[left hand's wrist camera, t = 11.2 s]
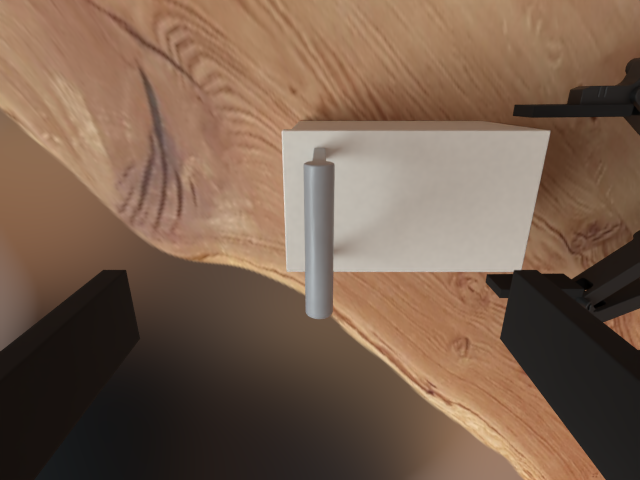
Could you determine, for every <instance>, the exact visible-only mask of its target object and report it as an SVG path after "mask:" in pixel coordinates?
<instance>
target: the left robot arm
mask: <svg viewBox="0 0 640 480" xmlns="http://www.w3.org/2000/svg"><path fill="white" fill-rule="evenodd" d="M139 339H140V337H139V332H138V327H137V322H136V317H135V312H134V307H133V302H132V297H131V292H130V288H129V283H128V278H127V273H126V270H103V271H101V272H100V273H99V274H98V275H96V276H95V277H94V278H93V279H91V280H90V281H89V282H88V283H86V284H85V285H84V286H83V287H81V288H80V289H79V290H77V291H76V292H75V293H74V294H72V295H71V296H70V297H69V298H67V299H66V300H65V301H64V302H62V303H61V304H60V305H59V306H57V307H56V308H55V309H54V310H52V311H51V312H50V313H48V314H47V315H46V316H45V317H43V318H42V319H41V320H40V321H38V322H37V323H36V324H35V325H33V326H32V327H31V328H30V329H28V330H27V331H26V332H25V333H23V334H22V335H21V336H19V337H18V338H17V339H16V340H14V341H13V342H12V343H11V344H9V345H8V346H7V347H6V348H4V349H3V350H2V351H0V480H34V479H35V478H36V477H37V475H38V474H39V473H40V471H41V470H42V469H43V467H44V466H45V465H46V463H47V462H48V461H49V459H50V458H51V457H52V455H53V454H54V453H55V451H56V450H57V449H58V447H59V446H60V445H61V443H62V442H63V441H64V439H65V438H66V437H67V435H68V434H69V433H70V431H71V430H72V429H73V427H74V426H75V424H76V423H77V422H78V421H79V419H80V418H81V417H82V415H83V414H84V412H85V411H86V410H87V408H88V407H89V406H90V405H91V403H92V402H93V401H94V399H95V398H96V396H97V395H98V394H99V392H100V391H101V390H102V389H103V387H104V386H105V384H106V383H107V382H108V380H109V379H110V378H111V377H112V375H113V374H114V372H115V371H116V370H117V368H118V367H119V366H120V364H121V363H122V362H123V360H124V359H125V358H126V356H127V355H128V354H129V352H130V351H131V350H132V348H133V347H134V346H135V344H136V343H137V342H138V340H139ZM500 339H501V340H502V342H503V343H504V344H505V346H506V347H507V348H508V350H509V351H510V352H511V354H512V355H513V356H514V358H515V359H516V360H517V362H518V363H519V365H520V366H521V367H522V369H523V370H524V371H525V373H526V374H527V375H528V377H529V378H530V379H531V381H532V382H533V383H534V385H535V386H536V387H537V389H538V390H539V391H540V393H541V394H542V395H543V397H544V398H545V399H546V401H547V402H548V403H549V405H550V406H551V407H552V409H553V410H554V411H555V413H556V414H557V415H558V417H559V418H560V419H561V421H562V422H563V423H564V425H565V426H566V427H567V429H568V430H569V431H570V433H571V434H572V435H573V437H574V438H575V439H576V441H577V442H578V443H579V445H580V446H581V447H582V449H583V450H584V451H585V453H586V454H587V455H588V457H589V458H590V459H591V461H592V462H593V463H594V465H595V466H596V467H597V469H598V470H599V471H600V473H601V474H602V475H603V477H604V478H605V479H606V480H640V350H637V349H636V348H634V347H633V346H632V345H631V344H629V343H628V342H627V341H626V340H624V339H623V338H622V337H621V336H619V335H618V334H617V333H615V332H614V331H613V330H612V329H610V328H609V327H608V326H607V325H605V324H604V323H603V322H602V321H600V320H599V319H598V318H597V317H595V316H594V315H593V314H592V313H590V312H589V311H588V310H586V309H585V308H584V307H583V306H581V305H580V304H579V303H578V302H576V301H575V300H574V299H573V298H571V297H570V296H569V295H568V294H566V293H565V292H564V291H563V290H561V289H560V288H559V287H557V286H556V285H555V284H554V283H552V282H551V281H550V280H549V279H547V278H546V277H545V276H544V275H542V274H541V273H540V272H539V271H537V270H514V273H513V278H512V283H511V287H510V292H509V297H508V302H507V307H506V312H505V317H504V322H503V327H502V332H501V337H500Z"/></svg>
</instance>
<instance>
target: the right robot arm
mask: <svg viewBox="0 0 640 480" xmlns="http://www.w3.org/2000/svg"><path fill="white" fill-rule="evenodd" d="M625 71H626V74H627V75H626V76H625V78H624V79H623V81H622V82H621V83H619V84H618V85H615V86H582V87H576V88H574V89H571V90H570V93H569V98H568V103H567V104H545V105H515V106H514V112H513V116H521V117H532V118H538V117H624V118H625V119H626V120H627V122H628V123H629V124H630V125H631V126H632V127H633V128H634V130H635V131H636V132H637V133H638V134H639V135H640V58H635V59H633V60H631V61H630V62H629V63H628V64H627V66H626V70H625ZM633 238H634V239H633V240H632V241H630V242H629V243H627V244H626V245H624V246H623V247H621V248H620V249H618V250H616V251H615V252H613V253H612V254H610V255H609V256H607V257H606V258H604V259H602V260H601V261H599V262H598V263H596V264H595V265H593V266H592V267H590V268H589V269H587V270H585V271H584V272H582V273H581V274H579V275H578V276H576V277H575V278H573V279H570V278H569V277H567V276H566V275H565V274H542V275H544V276H545V277H546V278H547V279H549V280H550V281H551V282H552V283H554V284H555V285H556V286H557V287H559V288H560V289H561V290H563V291H564V292H565V293H566V294H568V295H569V296H570V297H571V298H573V299H574V300H575V301H576V302H578V303H579V304H580V305H581V306H583V307H584V308H585V309H586V310H588V311H589V312H590V313H592V314H593V315H594V316H595V317H597V318H598V319H599V320H600V321H602V322H605V321H608V320H611V319H613V318H616V317H618V316H621V315H624V314H626V313H629V312H631V311H634V310H637V309H639V308H640V230H639V231H638V232H636V233H635V234H634V235H633ZM512 278H513V274H487V277H486V283H487V284H488V285H489V287H490V288H491V289H492V290H493V291H494V292H495V293H496V294H497V295H498V297H499V298H508V297H509V292H510V287H511V283H512ZM585 290H587V291H585Z"/></svg>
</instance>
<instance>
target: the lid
mask: <svg viewBox="0 0 640 480" xmlns="http://www.w3.org/2000/svg"><path fill="white" fill-rule="evenodd" d="M550 132H551V131H550V130H544V129H284V130H282V153H283V181H284V210H285V238H286V267H287V272H305V296H306V313H307V315H308V316H309V317H311V318H314V319H324V318H327V317H329V316H331V314H332V312H333V272H514V270H522V265H523V260H524V255H525V251H526V246H527V241H528V237H529V232H530V227H531V222H532V218H533V213H534V208H535V203H536V199H537V194H538V189H539V184H540V180H541V175H542V170H543V166H544V161H545V156H546V151H547V147H548V142H549V137H550Z"/></svg>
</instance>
